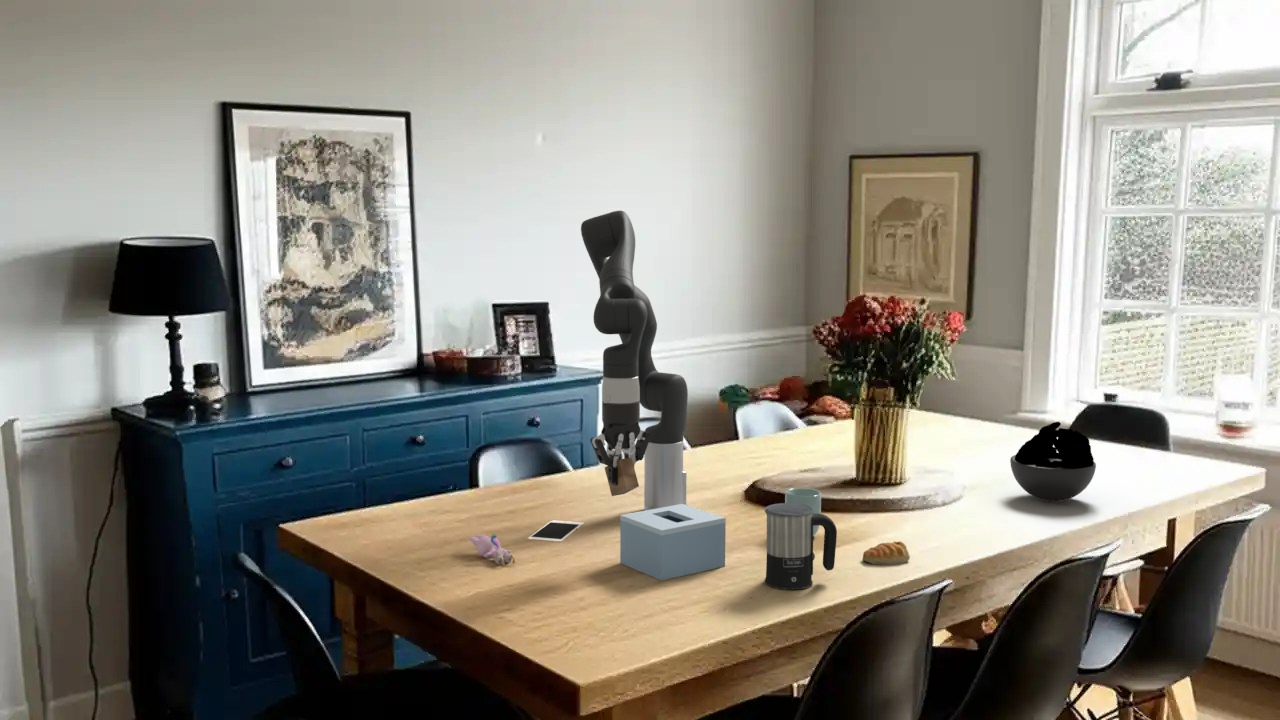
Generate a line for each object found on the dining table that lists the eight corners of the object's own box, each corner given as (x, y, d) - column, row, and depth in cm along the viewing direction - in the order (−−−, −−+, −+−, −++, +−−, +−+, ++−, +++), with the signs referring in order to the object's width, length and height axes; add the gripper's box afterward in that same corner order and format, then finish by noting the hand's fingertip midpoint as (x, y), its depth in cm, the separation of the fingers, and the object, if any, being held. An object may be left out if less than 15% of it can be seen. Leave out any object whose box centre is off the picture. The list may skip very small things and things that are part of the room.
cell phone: (584, 525, 269) (584, 522, 269) (560, 544, 253) (560, 541, 253) (552, 522, 271) (552, 519, 271) (526, 541, 255) (526, 538, 255)
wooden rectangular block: (624, 494, 238) (616, 465, 239) (639, 486, 233) (631, 457, 234) (611, 496, 236) (604, 467, 238) (626, 488, 231) (618, 459, 233)
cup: (823, 533, 261) (824, 489, 259) (816, 542, 253) (817, 497, 252) (788, 530, 263) (789, 486, 262) (781, 539, 256) (782, 494, 255)
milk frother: (778, 593, 220) (780, 516, 218) (739, 569, 234) (740, 497, 232) (843, 584, 225) (845, 509, 223) (800, 561, 240) (802, 490, 238)
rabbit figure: (521, 570, 238) (484, 542, 250) (523, 542, 237) (486, 516, 248) (494, 575, 235) (458, 547, 246) (497, 548, 233) (460, 520, 244)
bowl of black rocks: (1067, 515, 277) (1071, 436, 275) (992, 499, 292) (995, 425, 289) (1109, 501, 290) (1113, 426, 288) (1035, 487, 305) (1038, 415, 303)
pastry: (874, 568, 236) (874, 550, 235) (855, 559, 242) (855, 541, 241) (912, 563, 240) (913, 544, 239) (892, 554, 246) (893, 536, 245)
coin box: (682, 549, 248) (682, 503, 246) (725, 566, 236) (725, 517, 235) (620, 562, 238) (620, 515, 237) (661, 580, 227) (661, 530, 226)
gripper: (639, 392, 240) (639, 475, 243) (581, 399, 232) (581, 484, 235) (660, 397, 234) (660, 482, 236) (601, 404, 226) (601, 492, 229)
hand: (621, 483), depth 236 cm, fingers closed on wooden rectangular block, 2 cm apart
